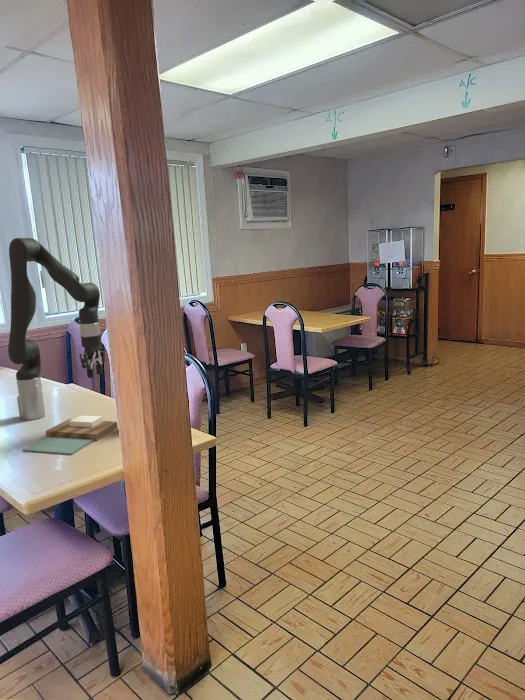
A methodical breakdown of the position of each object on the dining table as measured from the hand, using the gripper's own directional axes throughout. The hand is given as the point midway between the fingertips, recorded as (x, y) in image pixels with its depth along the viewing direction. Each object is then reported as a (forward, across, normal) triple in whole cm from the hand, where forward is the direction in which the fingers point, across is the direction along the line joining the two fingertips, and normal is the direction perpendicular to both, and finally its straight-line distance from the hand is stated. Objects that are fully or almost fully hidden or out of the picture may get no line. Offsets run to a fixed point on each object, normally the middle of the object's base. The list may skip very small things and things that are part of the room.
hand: (95, 375), depth 206 cm
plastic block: (+16, +9, 0) cm, 18 cm away
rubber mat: (+19, +26, 0) cm, 32 cm away
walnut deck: (+19, +12, 0) cm, 23 cm away
